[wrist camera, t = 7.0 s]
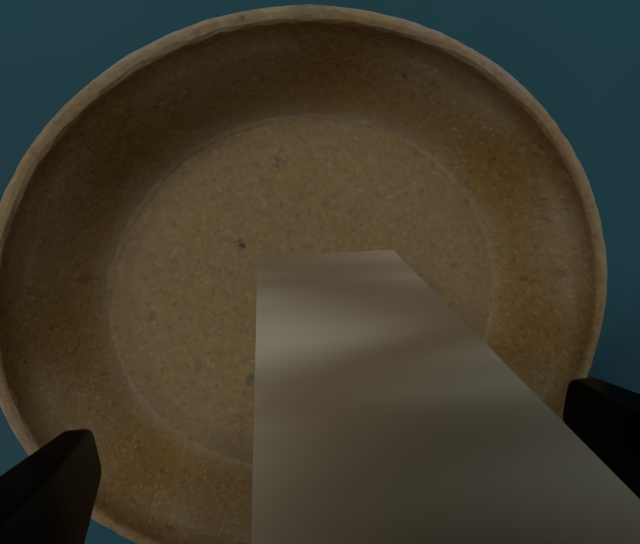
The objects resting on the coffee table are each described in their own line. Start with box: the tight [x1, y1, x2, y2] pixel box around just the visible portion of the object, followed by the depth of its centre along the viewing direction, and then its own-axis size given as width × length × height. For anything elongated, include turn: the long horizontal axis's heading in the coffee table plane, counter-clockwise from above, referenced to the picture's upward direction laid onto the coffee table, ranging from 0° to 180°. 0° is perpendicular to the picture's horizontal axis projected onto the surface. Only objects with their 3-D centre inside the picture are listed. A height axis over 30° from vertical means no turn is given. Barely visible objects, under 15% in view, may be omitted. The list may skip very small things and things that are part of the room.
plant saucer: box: [0, 4, 607, 544], centre depth 12 cm, size 15×15×3 cm
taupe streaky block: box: [251, 250, 640, 544], centre depth 7 cm, size 3×5×8 cm, turn 1°
